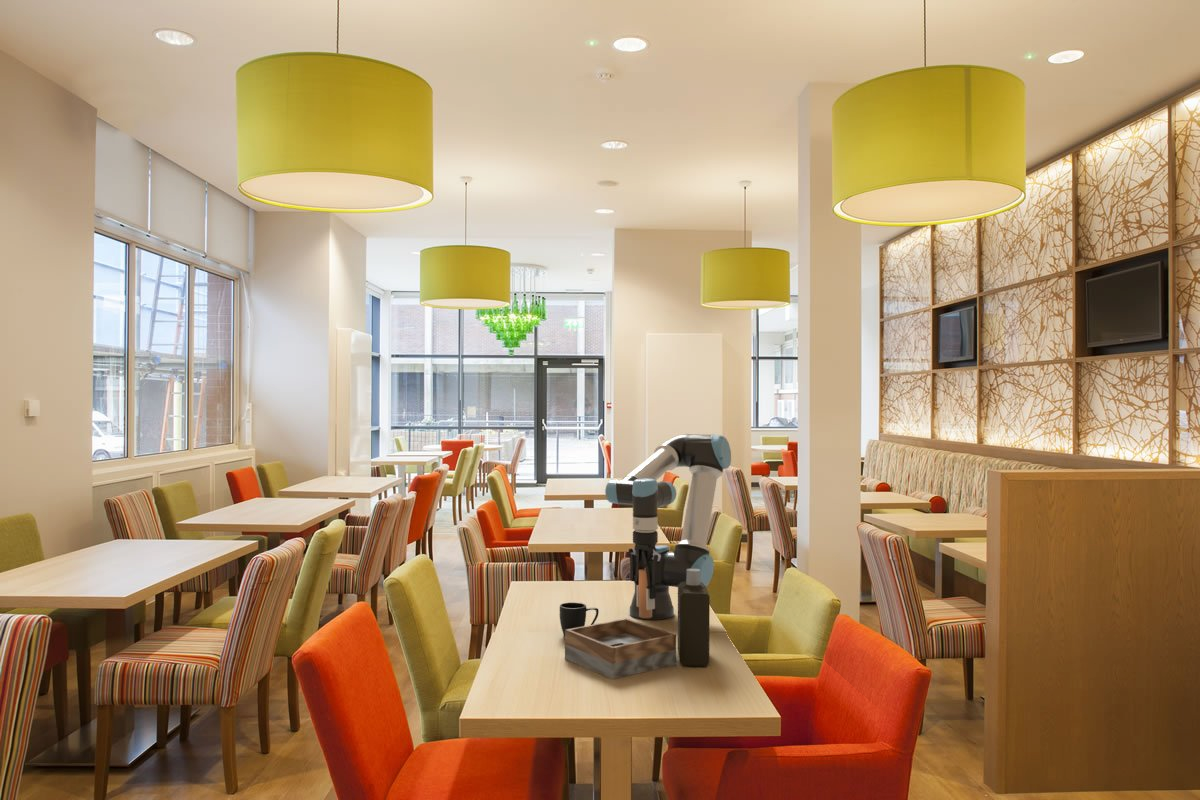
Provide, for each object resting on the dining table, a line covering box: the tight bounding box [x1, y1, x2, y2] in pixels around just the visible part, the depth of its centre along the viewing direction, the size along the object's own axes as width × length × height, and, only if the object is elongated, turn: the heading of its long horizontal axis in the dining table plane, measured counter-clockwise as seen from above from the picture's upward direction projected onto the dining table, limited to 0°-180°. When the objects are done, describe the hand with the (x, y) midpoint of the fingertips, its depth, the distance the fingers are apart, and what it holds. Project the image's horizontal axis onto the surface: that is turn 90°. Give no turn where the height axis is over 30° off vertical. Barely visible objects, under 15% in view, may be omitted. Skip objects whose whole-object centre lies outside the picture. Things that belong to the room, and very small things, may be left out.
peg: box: [639, 569, 652, 618], centre depth 249 cm, size 4×4×14 cm
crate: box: [564, 617, 677, 680], centre depth 229 cm, size 22×22×8 cm
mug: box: [559, 601, 600, 638], centre depth 253 cm, size 8×12×10 cm
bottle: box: [677, 568, 711, 668], centre depth 231 cm, size 8×16×25 cm, turn 177°
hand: (645, 607), depth 249 cm, fingers closed on peg, 4 cm apart
